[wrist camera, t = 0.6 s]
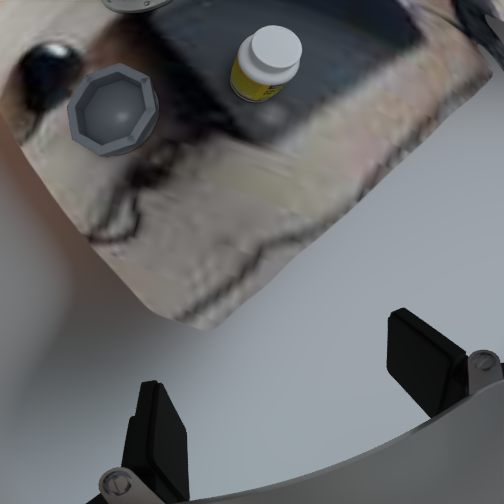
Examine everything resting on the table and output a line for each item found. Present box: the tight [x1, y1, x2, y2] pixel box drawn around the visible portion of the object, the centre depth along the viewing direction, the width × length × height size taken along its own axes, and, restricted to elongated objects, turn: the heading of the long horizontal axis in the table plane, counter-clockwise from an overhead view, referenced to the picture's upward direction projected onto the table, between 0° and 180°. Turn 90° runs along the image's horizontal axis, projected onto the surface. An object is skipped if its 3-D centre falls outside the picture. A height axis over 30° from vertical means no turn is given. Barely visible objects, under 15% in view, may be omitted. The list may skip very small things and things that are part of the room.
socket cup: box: [67, 63, 159, 157], centre depth 29 cm, size 10×10×4 cm
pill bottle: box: [230, 26, 302, 102], centre depth 27 cm, size 6×6×11 cm
